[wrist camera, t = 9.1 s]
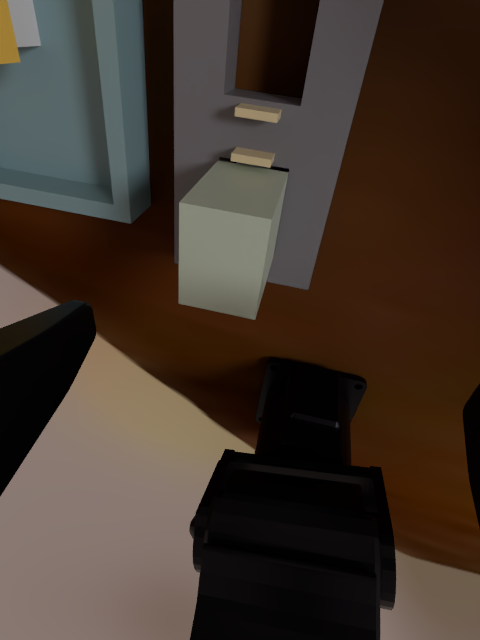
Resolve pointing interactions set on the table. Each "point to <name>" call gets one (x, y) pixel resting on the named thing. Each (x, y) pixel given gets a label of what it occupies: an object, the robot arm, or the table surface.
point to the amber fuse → (17, 28)
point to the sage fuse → (229, 237)
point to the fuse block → (270, 116)
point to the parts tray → (78, 112)
